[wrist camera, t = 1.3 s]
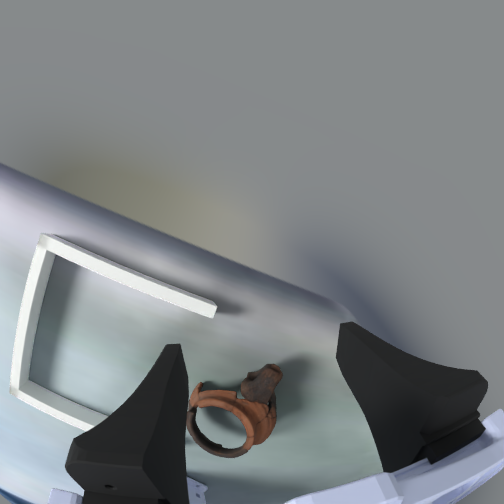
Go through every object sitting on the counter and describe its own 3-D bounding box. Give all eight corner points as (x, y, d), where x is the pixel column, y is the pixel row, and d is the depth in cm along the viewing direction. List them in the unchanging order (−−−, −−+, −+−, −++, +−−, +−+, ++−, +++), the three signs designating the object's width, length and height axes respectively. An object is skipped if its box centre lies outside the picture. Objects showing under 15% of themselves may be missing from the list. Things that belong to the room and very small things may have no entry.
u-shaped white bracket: (213, 301, 31) (217, 306, 28) (161, 441, 29) (161, 456, 26) (52, 234, 26) (41, 232, 23) (19, 383, 25) (9, 393, 22)
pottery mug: (259, 437, 33) (238, 477, 25) (196, 397, 35) (163, 429, 27) (312, 368, 31) (303, 405, 23) (239, 324, 33) (209, 347, 25)
